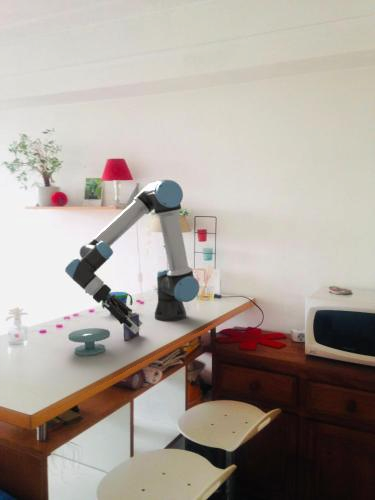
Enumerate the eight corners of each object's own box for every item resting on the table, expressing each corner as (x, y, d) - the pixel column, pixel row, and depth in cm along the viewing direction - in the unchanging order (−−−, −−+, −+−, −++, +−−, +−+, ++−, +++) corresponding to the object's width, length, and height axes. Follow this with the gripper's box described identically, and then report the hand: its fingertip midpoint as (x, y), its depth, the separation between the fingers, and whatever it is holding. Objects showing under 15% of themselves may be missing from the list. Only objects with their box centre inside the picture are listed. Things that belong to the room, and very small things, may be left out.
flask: (127, 340, 176) (126, 314, 175) (121, 340, 177) (120, 313, 176) (140, 334, 184) (139, 309, 183) (134, 334, 185) (134, 308, 184)
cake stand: (113, 344, 172) (113, 327, 172) (106, 357, 157) (105, 339, 157) (75, 344, 173) (74, 328, 172) (63, 357, 158) (63, 340, 157)
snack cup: (129, 309, 231) (129, 290, 230) (135, 313, 221) (135, 293, 220) (100, 312, 224) (99, 293, 223) (104, 317, 215) (103, 296, 214)
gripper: (97, 291, 190) (136, 327, 191) (85, 302, 169) (128, 342, 170) (109, 279, 189) (148, 315, 190) (98, 288, 168) (142, 329, 169)
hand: (139, 328), depth 180 cm, fingers closed on flask, 8 cm apart
